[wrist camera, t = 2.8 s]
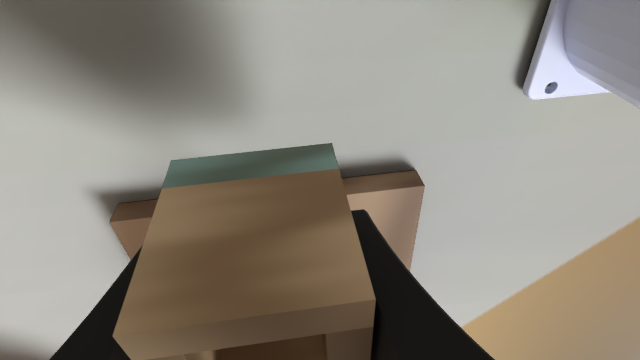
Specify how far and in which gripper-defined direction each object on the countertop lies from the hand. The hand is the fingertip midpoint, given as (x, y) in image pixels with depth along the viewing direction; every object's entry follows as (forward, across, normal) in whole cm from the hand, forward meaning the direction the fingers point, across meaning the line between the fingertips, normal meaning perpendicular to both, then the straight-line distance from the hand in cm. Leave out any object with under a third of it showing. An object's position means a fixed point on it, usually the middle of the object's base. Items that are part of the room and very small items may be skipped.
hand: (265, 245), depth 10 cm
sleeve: (+2, 0, 0) cm, 2 cm away
